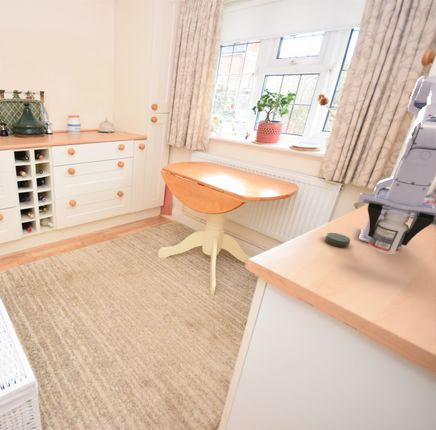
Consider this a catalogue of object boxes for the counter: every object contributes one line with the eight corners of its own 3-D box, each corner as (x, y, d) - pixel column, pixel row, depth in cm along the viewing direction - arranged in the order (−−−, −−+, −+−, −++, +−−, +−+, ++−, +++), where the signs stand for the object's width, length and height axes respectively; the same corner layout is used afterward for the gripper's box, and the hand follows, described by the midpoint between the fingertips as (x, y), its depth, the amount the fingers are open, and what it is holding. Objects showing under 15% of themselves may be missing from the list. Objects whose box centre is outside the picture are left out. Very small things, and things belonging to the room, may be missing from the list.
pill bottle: (386, 243, 69) (401, 209, 66) (403, 255, 64) (421, 218, 61) (362, 242, 69) (376, 208, 66) (378, 253, 65) (394, 217, 61)
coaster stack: (326, 236, 87) (328, 230, 87) (349, 243, 84) (351, 237, 83) (322, 243, 83) (325, 236, 83) (346, 250, 80) (349, 243, 79)
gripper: (366, 178, 62) (344, 234, 68) (466, 194, 53) (432, 257, 59) (368, 172, 67) (348, 225, 72) (460, 186, 58) (430, 245, 64)
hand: (386, 239), depth 66 cm, fingers closed on pill bottle, 5 cm apart
